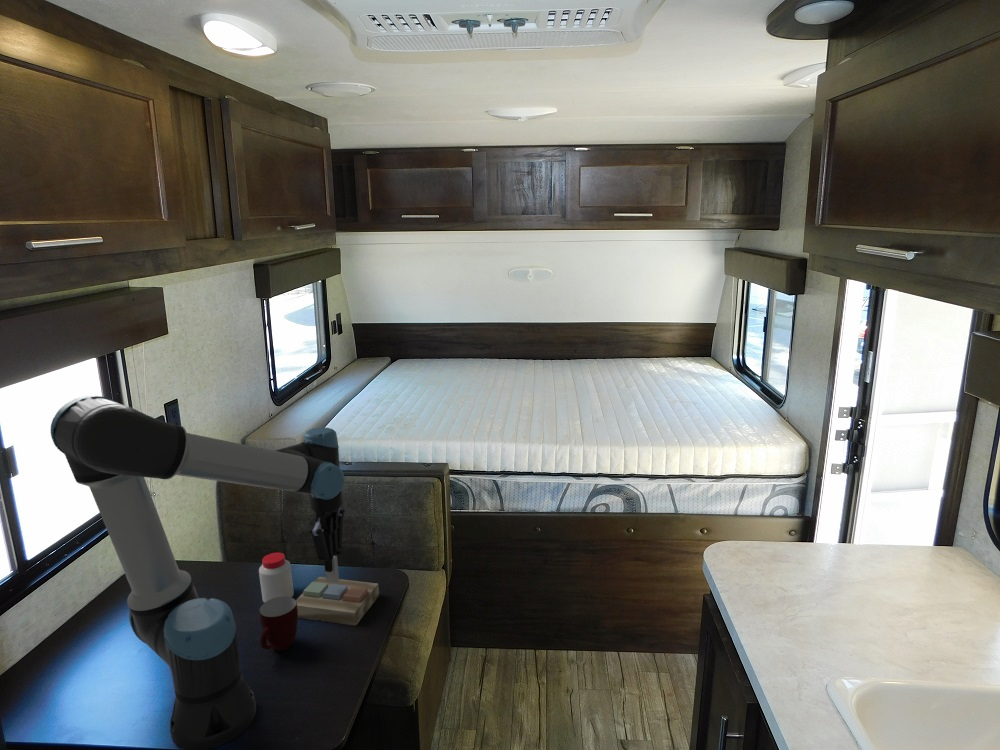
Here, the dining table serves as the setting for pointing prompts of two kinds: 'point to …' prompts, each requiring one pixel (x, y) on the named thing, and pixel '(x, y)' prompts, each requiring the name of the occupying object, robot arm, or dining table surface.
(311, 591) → the tile sage
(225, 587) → the dining table surface
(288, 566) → the pill bottle
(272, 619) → the mug
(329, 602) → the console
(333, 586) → the tile slate
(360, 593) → the tile terracotta
